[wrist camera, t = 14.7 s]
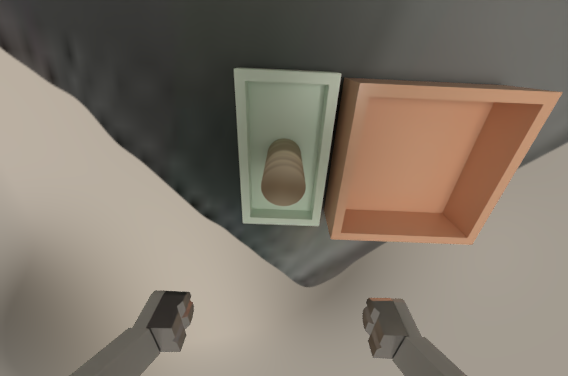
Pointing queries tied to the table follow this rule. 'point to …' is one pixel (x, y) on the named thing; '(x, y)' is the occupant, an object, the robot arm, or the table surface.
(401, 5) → the table surface
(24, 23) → the table surface
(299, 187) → the birch cylinder
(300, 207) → the green tray
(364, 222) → the orange hollow square box
